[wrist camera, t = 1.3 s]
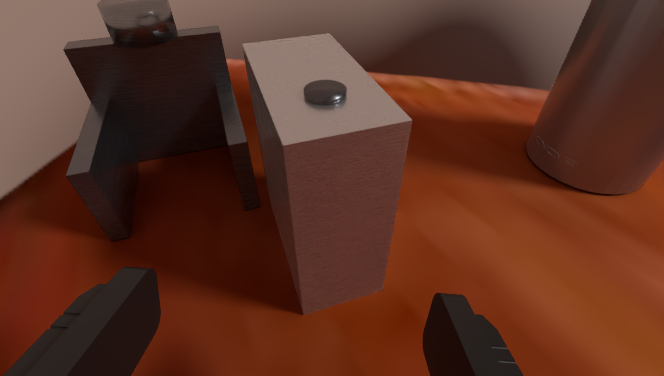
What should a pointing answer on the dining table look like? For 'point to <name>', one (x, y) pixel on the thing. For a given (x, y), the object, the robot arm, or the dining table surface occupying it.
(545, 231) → the dining table surface
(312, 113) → the block
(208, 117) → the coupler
